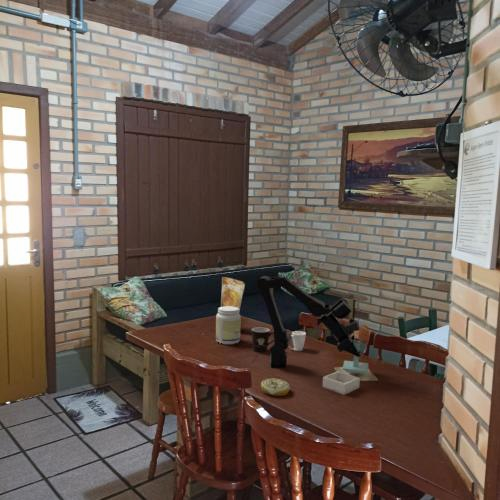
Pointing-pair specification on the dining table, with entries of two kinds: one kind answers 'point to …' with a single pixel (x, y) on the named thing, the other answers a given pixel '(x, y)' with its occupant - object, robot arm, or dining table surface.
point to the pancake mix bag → (232, 292)
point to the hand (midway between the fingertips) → (359, 354)
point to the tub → (341, 382)
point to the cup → (298, 340)
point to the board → (359, 375)
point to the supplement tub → (228, 325)
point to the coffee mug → (260, 339)
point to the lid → (355, 363)
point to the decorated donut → (275, 387)
